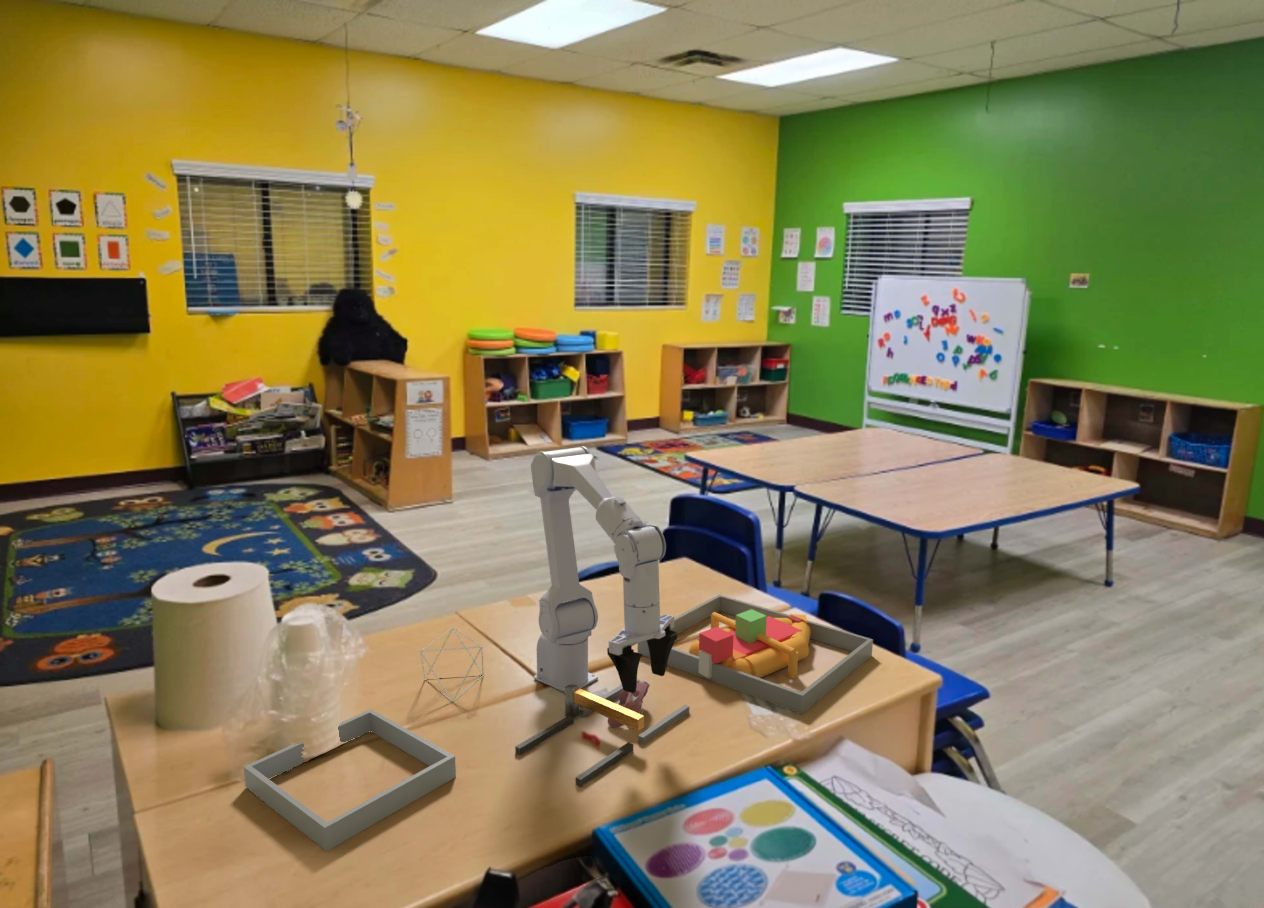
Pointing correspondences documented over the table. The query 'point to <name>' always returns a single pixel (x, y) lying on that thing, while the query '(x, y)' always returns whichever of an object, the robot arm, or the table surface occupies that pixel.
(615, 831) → the table surface
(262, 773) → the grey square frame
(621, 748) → the dock
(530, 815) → the table surface
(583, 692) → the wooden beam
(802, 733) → the table surface
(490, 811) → the table surface
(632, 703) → the pink curved shape
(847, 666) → the blocks bin frame
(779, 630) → the raft
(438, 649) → the geometric polyhedron
